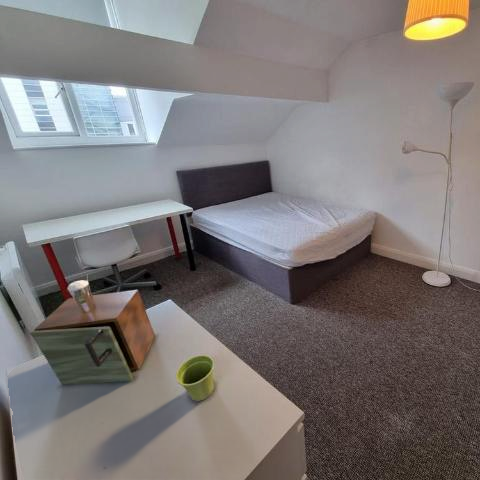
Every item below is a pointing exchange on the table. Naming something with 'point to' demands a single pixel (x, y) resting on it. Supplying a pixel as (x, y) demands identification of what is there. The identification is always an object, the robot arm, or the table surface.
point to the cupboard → (110, 322)
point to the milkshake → (82, 295)
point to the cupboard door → (83, 355)
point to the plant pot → (197, 376)
